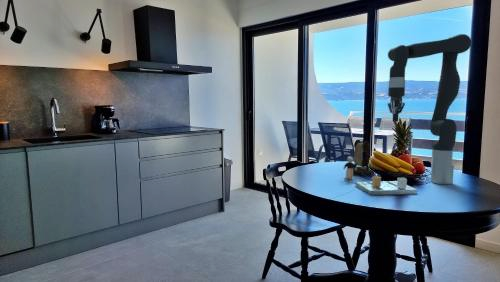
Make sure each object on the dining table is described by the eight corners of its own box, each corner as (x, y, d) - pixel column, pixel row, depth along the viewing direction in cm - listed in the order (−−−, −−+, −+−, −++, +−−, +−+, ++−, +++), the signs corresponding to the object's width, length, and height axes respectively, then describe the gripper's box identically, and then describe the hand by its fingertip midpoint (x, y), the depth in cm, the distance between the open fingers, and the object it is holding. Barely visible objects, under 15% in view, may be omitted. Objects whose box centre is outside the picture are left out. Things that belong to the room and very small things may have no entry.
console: (397, 184, 168) (397, 180, 168) (416, 193, 151) (417, 189, 151) (355, 185, 166) (355, 181, 166) (370, 194, 149) (370, 190, 149)
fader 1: (377, 185, 158) (378, 175, 158) (380, 186, 155) (381, 176, 155) (371, 185, 158) (372, 175, 157) (374, 186, 155) (375, 177, 154)
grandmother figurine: (341, 179, 181) (342, 156, 180) (343, 177, 185) (344, 155, 183) (356, 180, 178) (357, 157, 176) (357, 179, 181) (358, 156, 180)
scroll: (342, 172, 199) (343, 139, 197) (361, 170, 205) (362, 138, 203) (360, 177, 185) (361, 142, 183) (380, 175, 192) (381, 140, 189)
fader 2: (402, 186, 154) (403, 177, 154) (406, 188, 151) (406, 178, 151) (396, 187, 154) (397, 177, 154) (400, 188, 151) (400, 178, 151)
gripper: (411, 86, 159) (409, 122, 161) (397, 87, 172) (395, 121, 174) (396, 86, 159) (394, 122, 161) (383, 87, 172) (381, 121, 174)
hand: (395, 121), depth 167 cm, fingers closed
